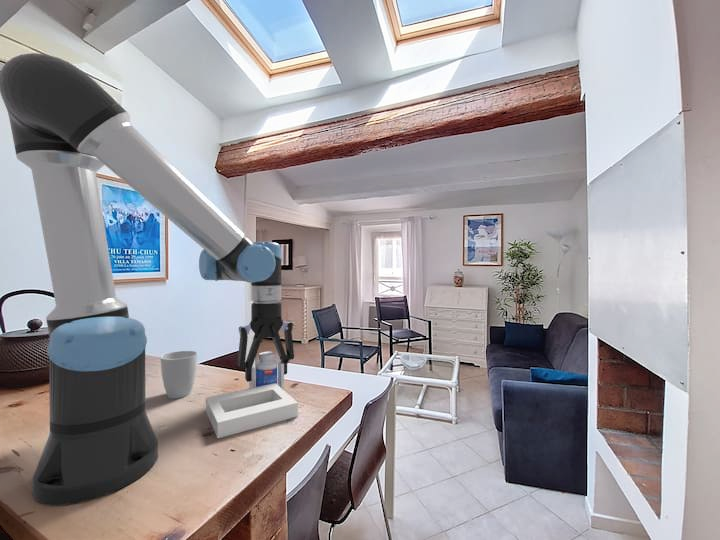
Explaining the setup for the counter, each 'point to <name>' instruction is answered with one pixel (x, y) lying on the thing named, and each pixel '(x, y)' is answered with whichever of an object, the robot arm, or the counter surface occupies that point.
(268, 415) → the dock
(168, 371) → the cup
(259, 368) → the pill bottle
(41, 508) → the counter surface
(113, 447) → the robot arm
